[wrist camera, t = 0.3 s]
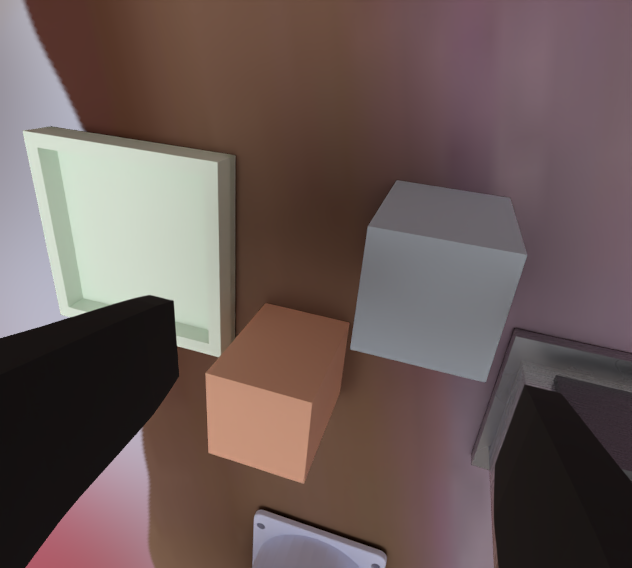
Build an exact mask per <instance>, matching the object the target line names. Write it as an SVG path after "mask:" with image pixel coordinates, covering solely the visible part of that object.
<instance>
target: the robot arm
mask: <svg viewBox="0 0 632 568" xmlns="http://www.w3.org/2000/svg"><path fill="white" fill-rule="evenodd" d="M178 377H179V369H178V354H177V340H176V326H175V311H174V301H173V300H169V299H165V298H161V297H156V296H152V295H146V296H142V297H137V298H133V299H129V300H126V301H122V302H119V303H115V304H112V305H109V306H105V307H102V308H99V309H96V310H93V311H89V312H86V313H83V314H80V315H77V316H74V317H70V318H67V319H64V320H61V321H58V322H55V323H51V324H48V325H45V326H42V327H39V328H35V329H31V330H28V331H25V332H21V333H17V334H14V335H10V336H7V337H3V338H0V568H25V567H26V566H27V565H28V563H29V562H30V560H31V559H32V558H33V556H34V555H35V553H36V552H37V551H38V550H39V548H40V547H41V546H42V544H43V543H44V542H45V540H46V539H47V538H48V536H49V535H50V534H51V532H52V531H53V530H54V528H55V527H56V526H57V524H58V523H59V522H60V520H61V519H62V518H63V517H64V515H65V514H66V513H67V512H68V511H69V509H70V508H71V507H72V506H73V505H74V503H75V502H76V501H77V500H78V498H79V497H80V496H81V495H82V494H83V493H84V492H85V491H86V489H87V488H88V487H89V486H90V485H91V484H92V483H93V482H94V481H95V480H96V478H97V477H98V476H99V475H100V474H101V473H102V472H103V471H104V469H105V468H106V467H107V466H108V465H109V464H110V463H111V462H112V461H113V459H114V458H115V457H116V456H117V455H118V454H119V453H120V452H121V451H122V449H123V448H124V447H125V446H126V445H127V444H128V443H129V442H130V440H131V439H132V438H133V437H134V436H135V435H136V434H137V432H138V431H139V430H140V429H141V428H142V427H143V426H144V425H145V423H146V422H147V421H148V420H149V419H150V418H151V416H152V415H153V414H154V413H155V411H156V410H157V408H158V407H159V406H160V404H161V403H162V401H163V400H164V398H165V397H166V395H167V394H168V392H169V391H170V389H171V388H172V386H173V385H174V383H175V382H176V380H177V378H178ZM494 527H495V537H496V548H497V558H498V568H632V481H631V480H630V479H629V478H628V476H627V475H626V474H625V473H624V472H623V470H622V469H621V468H620V467H619V465H618V464H617V463H616V462H615V460H614V459H613V458H612V457H611V456H610V454H609V453H608V452H607V451H606V449H605V448H604V447H603V445H602V444H601V443H600V442H599V440H598V439H597V438H596V437H595V435H594V434H593V433H592V431H591V430H590V429H589V428H588V426H587V425H586V424H585V423H584V421H583V420H582V419H581V417H580V416H579V415H578V414H577V412H576V411H575V410H574V409H573V407H572V406H571V405H570V404H569V402H568V401H567V400H566V399H565V397H564V396H563V395H562V394H561V393H558V392H554V391H550V390H546V389H541V388H537V387H533V386H529V385H525V384H524V387H523V390H522V392H521V395H520V398H519V401H518V403H517V406H516V409H515V411H514V414H513V417H512V420H511V422H510V425H509V428H508V430H507V433H506V436H505V439H504V441H503V444H502V447H501V449H500V452H499V455H498V458H497V460H496V463H495V475H494ZM386 561H387V556H386V554H385V553H384V552H383V551H381V550H378V549H375V548H373V547H370V546H367V545H364V544H361V543H358V542H355V541H352V540H349V539H346V538H343V537H341V536H338V535H335V534H332V533H329V532H326V531H323V530H320V529H317V528H314V527H312V526H309V525H306V524H303V523H300V522H297V521H294V520H291V519H288V518H285V517H283V516H280V515H277V514H274V513H271V512H268V511H265V510H258V511H256V514H255V516H254V530H253V562H252V568H385V566H386Z"/></svg>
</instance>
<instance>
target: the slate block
mask: <svg viewBox="0 0 632 568" xmlns="http://www.w3.org/2000/svg"><path fill="white" fill-rule="evenodd" d="M526 258H527V252H526V249H525V245H524V242H523V239H522V235H521V232H520V229H519V225H518V222H517V219H516V215H515V212H514V209H513V205H512V202H511V199H510V198H508V197H502V196H495V195H489V194H482V193H476V192H470V191H463V190H457V189H450V188H444V187H438V186H431V185H425V184H418V183H412V182H406V181H399V180H396V182H395V184H394V185H393V187H392V188H391V190H390V192H389V193H388V195H387V196H386V198H385V200H384V201H383V203H382V204H381V206H380V207H379V209H378V211H377V212H376V214H375V215H374V217H373V219H372V220H371V222H370V223H369V225H368V229H367V236H366V243H365V249H364V256H363V263H362V270H361V277H360V284H359V291H358V298H357V305H356V312H355V319H354V326H353V332H352V339H351V346H350V349H351V350H355V351H359V352H363V353H367V354H371V355H375V356H379V357H383V358H387V359H391V360H396V361H400V362H404V363H408V364H412V365H416V366H420V367H424V368H428V369H432V370H436V371H440V372H444V373H448V374H452V375H456V376H460V377H465V378H469V379H473V380H477V381H481V382H485V383H486V380H487V377H488V374H489V371H490V368H491V365H492V362H493V359H494V356H495V352H496V349H497V346H498V343H499V340H500V337H501V334H502V331H503V328H504V325H505V322H506V319H507V316H508V313H509V310H510V307H511V304H512V301H513V298H514V295H515V291H516V288H517V285H518V282H519V279H520V276H521V273H522V270H523V267H524V264H525V261H526Z"/></svg>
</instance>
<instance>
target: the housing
mask: <svg viewBox="0 0 632 568" xmlns="http://www.w3.org/2000/svg"><path fill="white" fill-rule="evenodd" d="M524 384H525V385H529V386H533V387H537V388H541V389H546V390H550V391H554V392H558V393H561V394H562V395H563V396H564V397H565V399H566V400H567V401H568V402H569V404H570V405H571V406H572V407H573V409H574V410H575V411H576V412H577V414H578V415H579V416H580V417H581V419H582V420H583V421H584V423H585V424H586V425H587V426H588V428H589V429H590V430H591V431H592V433H593V434H594V435H595V437H596V438H597V439H598V440H599V442H600V443H601V444H602V445H603V447H604V448H605V449H606V451H607V452H608V453H609V454H610V456H611V457H612V458H613V459H614V460H615V462H616V463H617V464H618V465H619V467H620V468H621V469H622V470H623V472H624V473H625V474H626V475H627V476H628V478H629V479H630V480H631V481H632V354H630V353H625V352H621V351H616V350H612V349H607V348H603V347H598V346H593V345H589V344H584V343H580V342H575V341H570V340H566V339H561V338H557V337H552V336H547V335H543V334H538V333H534V332H529V331H524V330H520V329H515V328H514V331H513V334H512V337H511V340H510V343H509V346H508V349H507V352H506V355H505V358H504V361H503V364H502V367H501V369H500V372H499V375H498V378H497V381H496V384H495V387H494V390H493V393H492V396H491V399H490V402H489V405H488V408H487V411H486V413H485V416H484V419H483V422H482V425H481V428H480V431H479V434H478V437H477V440H476V443H475V446H474V449H473V452H472V454H471V465H474V466H477V467H481V468H484V469H487V470H489V471H490V492H491V513H492V534H493V555H494V568H498V558H497V548H496V537H495V527H494V475H495V463H496V460H497V458H498V455H499V452H500V449H501V447H502V444H503V441H504V439H505V436H506V433H507V430H508V428H509V425H510V422H511V420H512V417H513V414H514V411H515V409H516V406H517V403H518V401H519V398H520V395H521V392H522V390H523V387H524Z"/></svg>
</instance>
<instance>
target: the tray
mask: <svg viewBox="0 0 632 568" xmlns="http://www.w3.org/2000/svg"><path fill="white" fill-rule="evenodd" d="M23 135H24V140H25V145H26V150H27V154H28V159H29V164H30V169H31V174H32V179H33V183H34V188H35V193H36V197H37V203H38V207H39V212H40V217H41V222H42V226H43V231H44V236H45V241H46V246H47V251H48V256H49V260H50V265H51V270H52V275H53V280H54V284H55V289H56V294H57V299H58V304H59V308H60V313H61V315H64V316H67V317H74V316H77V315H80V314H83V313H86V312H89V311H93V310H96V309H99V308H102V307H105V306H109V305H112V304H115V303H119V302H122V301H126V300H129V299H133V298H137V297H142V296H146V295H152V296H156V297H161V298H165V299H169V300H173V301H174V311H175V326H176V340H177V346H179V347H183V348H186V349H190V350H194V351H198V352H201V353H205V354H209V355H212V356H216V357H220V356H221V354H222V353H223V352H224V351H225V350H226V349H227V347H228V346H229V345H230V344H231V343H232V342H233V340H234V339H235V161H236V155H231V154H224V153H218V152H211V151H205V150H199V149H192V148H186V147H179V146H173V145H167V144H160V143H154V142H148V141H141V140H135V139H128V138H122V137H116V136H109V135H103V134H96V133H90V132H84V131H77V130H70V129H64V128H58V127H52V126H51V127H44V128H38V129H31V130H24V131H23Z"/></svg>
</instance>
